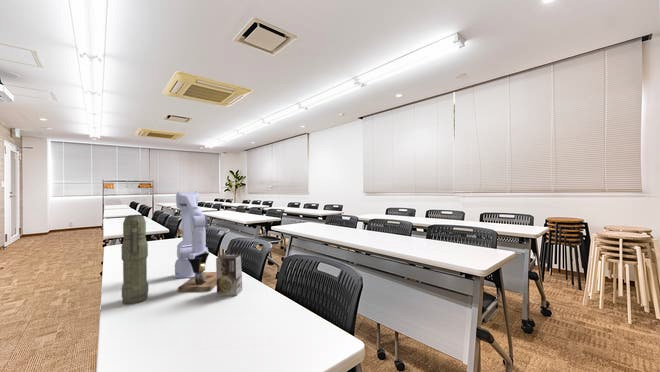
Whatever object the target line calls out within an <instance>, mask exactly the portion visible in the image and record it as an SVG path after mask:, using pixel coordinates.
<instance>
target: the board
mask: <svg viewBox="0 0 660 372" xmlns="http://www.w3.org/2000/svg"><path fill="white" fill-rule="evenodd" d="M203 277H204V281H203V282H199V283H196V282H195V276H194V277H192V278H189V279H188V280H186V281H185V282H184V283H182V284H180V285H179V286H178V287H177V290H178V293H179V292H181V293H185V292H211V291H212V290H213V289H214V288H215V287H217V274H216V271H209V272H208V271H203Z"/></svg>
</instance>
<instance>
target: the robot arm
mask: <svg viewBox="0 0 660 372" xmlns="http://www.w3.org/2000/svg"><path fill="white" fill-rule="evenodd" d="M175 194H176V195H175V197H176V198H175V203H176V204H175V205H176V208H177V209H178V210H180V213H181V214H180V215H181V229H182V240H181V241H180V242H179V243H178V244H177V246H176V256H177V259H175V263H174V277H173V278H174V279H179V278H182V279H185V278H186V279H188V278H189V279H191V278H192V277H194V276H195V273H199V269H200V263H201V261H202V262H203V263H205V265H206V264H207V260H208V257H209V256H210V252H209V249H208V248H209V247H207V246H206V245H207V243H206V239H207V237H206V234H207V233H206V227H208V217H207V215H206V214H204V213H203V211H202V209H201V207H200V206H198V205H197V204H198V202H199V193H198V192H197V191H177V192H176V193H175Z"/></svg>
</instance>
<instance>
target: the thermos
mask: <svg viewBox="0 0 660 372" xmlns="http://www.w3.org/2000/svg"><path fill="white" fill-rule="evenodd" d="M122 226H123V227H122V229H123V230H122V234H123V235H122V236H123V240H122V241H123V242H122V244H121V245H120V246H121V250H120V251H121V261H122V279H123V281H122V286H121V298H122V301H121V302H122V305H126V306H129V305H130V306H131V305H132V306H133V305H137V304H140V303H143V302H145V301H148V299H149V283H148V278H147V277H148V275H147V273H148V270H147V267H148V266H147V258H148V256H149V247H148V246H149V243H148V241H147V236H146V234H147V221H146V218H145V217H144V215H142V214H132V215H131V214H130V215H127V216H125V218H124V220H123V224H122Z"/></svg>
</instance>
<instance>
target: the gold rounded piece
mask: <svg viewBox="0 0 660 372" xmlns="http://www.w3.org/2000/svg"><path fill="white" fill-rule="evenodd" d="M203 272H206V264H205V263H203V262H202V261H201V263H200V269H199V273H195V282H196V283H199V282H203V281H204V277H203Z"/></svg>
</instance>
